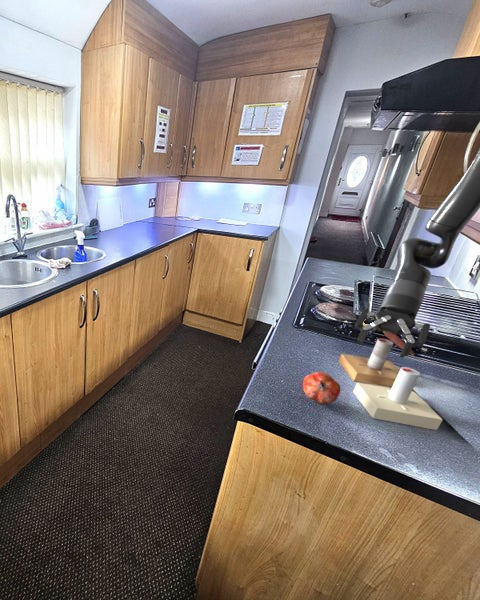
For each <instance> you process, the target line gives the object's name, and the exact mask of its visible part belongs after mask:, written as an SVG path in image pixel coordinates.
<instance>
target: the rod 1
mask: <svg viewBox="0 0 480 600" xmlns="http://www.w3.org/2000/svg"><path fill="white" fill-rule="evenodd" d="M393 346H394V342H392V341H391V340H390V339H386V338H381V337H380V338H377V339H376V342H375V344H374V347H373V349H372V352H371V354H370V357H369V358H370V359H369V361H368V363H367V365H368V366H369V367H371V368H373V369H376V370H382V368H383V366H384V364H385V362H386V361H387V360H388V357H389V355H390V353H391V350H392V348H393Z"/></svg>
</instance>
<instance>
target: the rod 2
mask: <svg viewBox="0 0 480 600" xmlns="http://www.w3.org/2000/svg"><path fill="white" fill-rule="evenodd" d="M399 370H400V371H399V373H398V376H397V378H396V380H395V382H394V384H393V386H392V387H390V388H391V391H390V393H389V395H388V398H389V399H390V400H392V401H394V402H396V403H400V404H405V403H406V402H407V400H408V398H409V396H410V394H411V392H413V389H414V387H415V386H416V383H417V381H418V379H419V378H420V376H421V373H420V372H419V371H418V370H416V369H414V368H411V367H408V366H407V367H406V366H402V367H401V368H399Z"/></svg>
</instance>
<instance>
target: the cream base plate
mask: <svg viewBox="0 0 480 600" xmlns="http://www.w3.org/2000/svg"><path fill="white" fill-rule="evenodd" d="M355 384H356V385H355V387H354V389H353V394H354V395H355V396H356V398H357V399H358V400H359V402H360V403H361V405H362V406H363V407H364V409H365V410H366V411H367V412H368V414H369V416H370V417H371V418H372V419H375V420H381V421H385V422H391V423H396V424H401V425H407V426H412V427H417V428H423V429H427V430H433V431H438V429H439V428H440V425H441V424H442V422H443V420H444V419H443V418H442V417H441V416H440V415H439V414H438V413H436V411H435V410H433V408H432V407H430V405H429V404H427V403H426V402H425V401H424V400H423V399H422V398H421V397H420V396H419V394H418V393H416V391H412V392H411V394H410V396H409V398H408V400H407V402H406V403H405V404H400V403H396V402H394V401H392V400H390V399H389V398H388V395H389V393H390V391H391V388H392V387H386V386H379V385H373V384H366V383H360V382H356V383H355Z"/></svg>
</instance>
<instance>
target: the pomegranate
mask: <svg viewBox="0 0 480 600" xmlns="http://www.w3.org/2000/svg"><path fill="white" fill-rule="evenodd" d="M302 382H303V384H302V390H303V392H304V394H305V395H306V397H308V398H309V399H310V400H313V401H315V402H317V403H319V404H321V405H331V404H332V403H334V402H335V401H336V400H337V399H338V398H339V395H340V393H341V385H340V384H339V382H338V381H336V380H335V379H334V378H333V377H332V376H331V374H328V373H326V372H323V371H322V372H321V371H316V372H312V373H311V374H307V375H306V376H305V377H304V379H303V381H302Z"/></svg>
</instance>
